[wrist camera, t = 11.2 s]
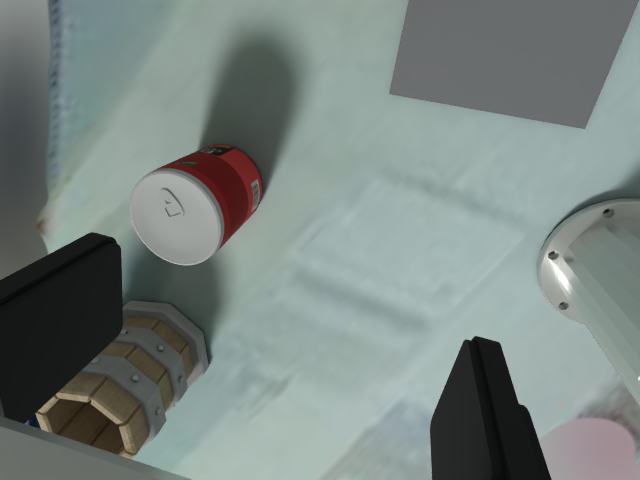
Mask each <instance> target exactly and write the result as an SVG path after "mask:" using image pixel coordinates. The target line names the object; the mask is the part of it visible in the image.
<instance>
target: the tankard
mask: <svg viewBox="0 0 640 480" xmlns="http://www.w3.org/2000/svg"><path fill="white" fill-rule="evenodd" d="M208 367H209V365H208V359H207V352H206V346H205V340H204V334H203V332H202V331H201V330H200V329H199V328H198V327H197V326H195V325H194V324H193V323H192V322H191V321H190V320H188V319H187V318H186V317H185V316H184V315H183V314H182V313H180V312H179V311H178V310H177V309H176V308H175V307H173V306H172V305H171V304H168V303H157V302H146V301H135V300H130V301H129V302H128V303H127V304H126V305H125V306H124V307H123V327H122V330H121V333H120V334H119V336H118V337H117V338H116V339H115V340H114V341H113V342H111V343H110V344H109V345H108V346H107V347H106V348H105V349H104V350H103V351H102V352H101V353H100V354H99V355H98V356H96V357H95V358H94V359H93V360H92V361H91V362H90V363H89V364H88V365H87V366H86V367H85V368H84V369H82V370H81V371H80V372H79V373H78V374H77V375H76V376H75V377H74V378H73V379H72V380H71V381H70V382H68V383H67V384H66V385H65V386H64V387H63V388H62V389H61V390H60V391H59V392H58V393H57V394H56V395H55V396H53V397H52V398H51V399H50V400H49V401H48V402H47V403H46V404H45V405H44V406H43V407H42V408H41V409H39V410H38V411H37V412H36V413H35V414H36V416H37V419H38V421H39V424H40V426H41V429H42V430H44V431H47V432H50V433H53V434H56V435H59V436H62V437H65V438H68V439H72V440H75V441H78V442H81V443H84V444H87V445H90V446H93V447H96V448H99V449H102V450H105V451H108V452H111V453H114V454H117V455H120V456H123V457H126V458H129V459H131V458H133V457H134V456H135V455H136V454H137V453H138V451H139V450H140V449H141V448H142V447H143V446H145V445H146V444H147V443H148V442H149V441H151V440H152V439H153V438H154V437H156V435H157V434H158V432H159V431H160V429H161V428H162V426H163V425H164V423H165V422H166V417H165V412H167V411H168V410H169V409H170V408H171V407H174V406H175V404H176V403H177V402H179V401H180V399H181V398H182V396H183V394H184V393H185V391H186V390H187V388H188V387H189V386H190V385H191V384H193V383H194V382H195V381H196V380H197V379H198V378H200V377H201V376H202V375H203V374H204V373H205V372H206V370H207V369H208Z"/></svg>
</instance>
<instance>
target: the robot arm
mask: <svg viewBox="0 0 640 480" xmlns="http://www.w3.org/2000/svg"><path fill="white" fill-rule="evenodd" d="M606 209H607V211H606V212H604V211H605V210H606ZM552 251H553V252H552ZM550 252H552V253H550ZM537 277H538V281H539V286H540V288H541V290H542V292H543V294H544V296H545V297H546V299H547V300H548V302H549V303H550V305H551V306H552V307H553V308H554V309H555V310H556V311H557V312H559V313H560V314H562V315H563V316H565V317H567V318H568V319H570V320H573V321H575V322H578V323H580V324H584V325H585V326H586V327H587V329H588V330H589V332H590V333H591V335H592V336H593V338H594V339H595V341H596V342H597V344H598V345H599V347H600V348H601V350H602V351H603V353H604V354H605V356H606V357H607V359H608V360H609V362H610V363H611V364H612V366H613V367H614V369H615V370H616V372H617V373H618V375H619V376H620V378H621V379H622V381H623V382H624V384H625V385H626V387H627V388H628V390H629V391H630V393H631V394H632V396H633V397H634V399H635V400H636V402H637V403H638V405H639V406H640V199H633V198H621V199H614V200H607V201H603V202H600V203H597V204H593V205H590V206H588V207H586V208H584V209H582V210H580V211H578V212H576V213H574V214H573V215H571V216H570V217H568V218H567V219H566V220H564V221H563V222H562V223H561V224H560V225H559V226H558V227H557V228H556V229H555V230H554V231H553V232H552V233H551V235H550V236H549V237H548V239H547V240H546V241H545V243H544V246H543V248H542V250H541V252H540V255H539V259H538V263H537ZM122 327H123V301H122V266H121V248H120V246H119V245H118V244H117V242H116V240H115V239H114V238H113V237H109V236H105V235H102V234H98V233H93V232H92V233H89V234H87V235H85V236H83V237H81V238H79V239H77V240H75V241H73V242H72V243H70V244H68V245H66V246H64V247H62V248H60V249H58V250H56V251H55V252H53V253H51V254H49V255H47V256H45V257H43V258H41V259H39V260H38V261H36V262H34V263H32V264H30V265H28V266H26V267H25V268H23V269H21V270H19V271H17V272H15V273H13V274H11V275H10V276H7V277H6V278H4V279H2V280H0V480H191V479H188V478H185V477H182V476H179V475H176V474H173V473H170V472H167V471H164V470H162V469H159V468H156V467H153V466H150V465H147V464H144V463H141V462H138V461H135V460H132V459H129V458H126V457H123V456H120V455H117V454H114V453H111V452H108V451H105V450H102V449H99V448H96V447H93V446H90V445H87V444H84V443H81V442H78V441H75V440H72V439H68V438H65V437H62V436H59V435H56V434H53V433H50V432H47V431H44V430H41V429H38V428H35V427H32V426H29V425H26V424H24V423H25V422H27V421H28V420H29V419H30V418H31V417H32V416H33V415H34V414H35V413H36V412H37V411H38V410H39V409H41V408H42V407H43V406H44V405H45V404H46V403H47V402H48V401H49V400H50V399H51V398H52V397H53V396H55V395H56V394H57V393H58V392H59V391H60V390H61V389H62V388H63V387H64V386H65V385H66V384H67V383H68V382H70V381H71V380H72V379H73V378H74V377H75V376H76V375H77V374H78V373H79V372H80V371H81V370H82V369H84V368H85V367H86V366H87V365H88V364H89V363H90V362H91V361H92V360H93V359H94V358H95V357H96V356H98V355H99V354H100V353H101V352H102V351H103V350H104V349H105V348H106V347H107V346H108V345H109V344H110V343H111V342H113V341H114V340H115V339H116V338H117V337H118V336H119V334H120V333H121V330H122ZM430 438H431V461H432V480H551V477H550V474H549V471H548V468H547V465H546V462H545V459H544V456H543V453H542V450H541V447H540V444H539V440H538V437H537V434H536V431H535V428H534V425H533V422H532V419H531V416H530V413H529V411H528V409H527V408H526V407H525V406H524V405H520V404H519V403H518V400H517V397H516V393H515V390H514V387H513V384H512V380H511V377H510V374H509V371H508V367H507V364H506V361H505V357H504V354H503V351H502V348H501V345H500V343H499V342H496V341H492V340H489V339H485V338H481V337H478V336H475V337H474V338H473V339H472V341H470V340H465V341H464V342H463V344H462V346H461V349H460V351H459V354H458V356H457V358H456V361H455V363H454V366H453V368H452V370H451V373H450V375H449V378H448V380H447V383H446V385H445V387H444V390H443V392H442V395H441V397H440V399H439V402H438V404H437V407H436V409H435V412H434V414H433V417H432V420H431V426H430Z"/></svg>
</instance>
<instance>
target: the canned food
mask: <svg viewBox="0 0 640 480" xmlns="http://www.w3.org/2000/svg"><path fill="white" fill-rule="evenodd" d="M261 197H262V179H261V176H260V173H259V171H258V169H257V167H256V165H255V164H254V162H253V161H252V160H251V159H250V158H249V157H248V156H247V155H246V154H245V153H243V152H242V151H240V150H239V149H236V148H234V147H231V146H226V145H212V146H208V147H206V148H203V149H201V150H199V151H196V152H194V153H192V154H190V155H187V156H185V157H183V158H181V159H178V160H176V161H174V162H171V163H169V164H167V165H165V166H162V167H160V168H158V169H156V170H154V171H152V172H150V173H149V174H147V175H146V176H144V177H143V178H142V179H141V180H140V181H138V182H137V184H136V185H135V187H134V189H133V191H132V194H131V197H130V205H129V207H130V216H131V220H132V223H133V226H134V228H135V230H136V232H137V234H138V236H139V237H140V239H141V240H142V242H143V243H144V244H145V245H146V246H147V247H148V248H149V249H150V250H151V251H152V252H153V253H154V254H156V255H157V256H159V257H160V258H162V259H164V260H166V261H168V262H171V263H174V264H178V265H195V264H199V263H201V262H203V261H205V260H206V259H208V258H209V257H211V256H212V255H213V254H215V253H216V251H217V250H219V249H220V248H221V247H222V246H223V245H224V244H225V243H226V241H227V240H228V239H229V238H230V237H231V236H232V235H233V234H234V233H235V232H236V231H237V230H238V229H239V228H240V227H241V226H242V225H243V224H244V223H245V222H246V221H247V220H248V218H249V217H250V216H251V215H252V214H253V213H254V212H255V211H256V210H257V208H258V206H259V204H260V201H261Z"/></svg>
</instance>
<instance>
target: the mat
mask: <svg viewBox="0 0 640 480" xmlns="http://www.w3.org/2000/svg"><path fill="white" fill-rule="evenodd" d="M638 1H639V0H409V3H408V8H407V12H406V17H405V22H404V27H403V31H402V36H401V41H400V45H399V50H398V55H397V60H396V64H395V69H394V74H393V78H392V83H391V88H390V93H389V94H392V95H398V96H403V97H409V98H415V99H420V100H426V101H431V102H437V103H443V104H448V105H454V106H459V107H465V108H470V109H476V110H482V111H487V112H493V113H498V114H504V115H510V116H515V117H521V118H526V119H532V120H538V121H543V122H549V123H554V124H560V125H566V126H571V127H577V128H582V129H585V127H586V125H587V123H588V120H589V118H590V115H591V113H592V111H593V108H594V106H595V104H596V101H597V99H598V96H599V94H600V92H601V89H602V87H603V84H604V82H605V80H606V77H607V75H608V73H609V70H610V68H611V65H612V63H613V61H614V58H615V56H616V53H617V51H618V49H619V46H620V44H621V41H622V39H623V37H624V34H625V32H626V30H627V27H628V25H629V22H630V20H631V18H632V15H633V13H634V10H635V8H636V6H637V3H638Z"/></svg>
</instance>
